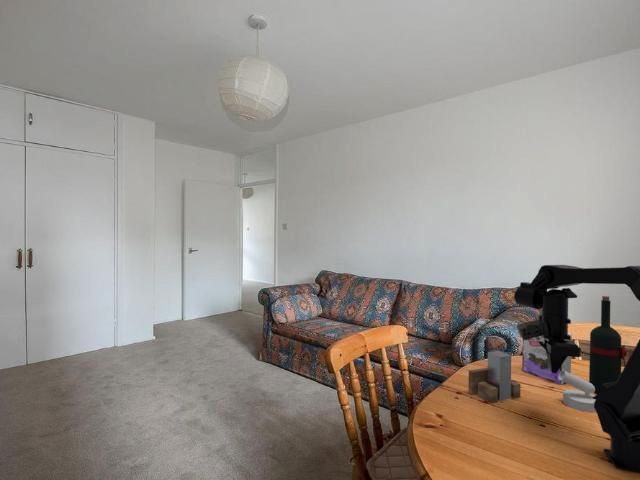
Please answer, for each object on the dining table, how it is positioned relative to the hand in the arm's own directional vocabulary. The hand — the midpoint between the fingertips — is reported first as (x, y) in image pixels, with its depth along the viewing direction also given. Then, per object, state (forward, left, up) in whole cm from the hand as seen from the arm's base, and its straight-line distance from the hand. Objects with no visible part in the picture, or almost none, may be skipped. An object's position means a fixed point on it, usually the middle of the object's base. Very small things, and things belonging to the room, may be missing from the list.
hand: (553, 372), depth 92 cm
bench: (+13, +12, -13) cm, 22 cm away
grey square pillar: (+12, +11, -13) cm, 21 cm away
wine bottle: (+26, -22, -13) cm, 37 cm away
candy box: (+35, -7, -13) cm, 38 cm away
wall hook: (+14, -10, -13) cm, 22 cm away
